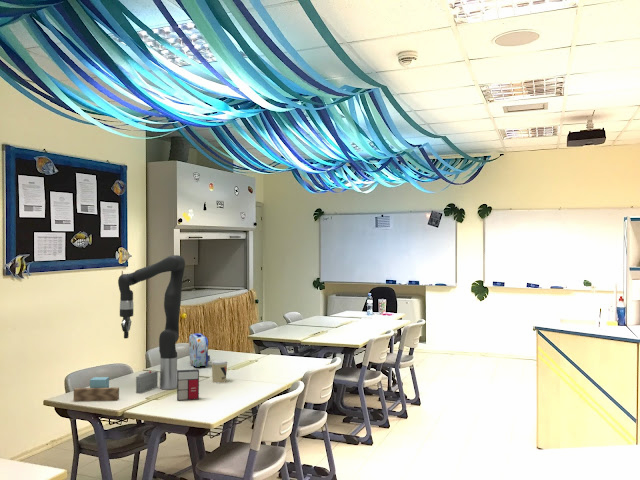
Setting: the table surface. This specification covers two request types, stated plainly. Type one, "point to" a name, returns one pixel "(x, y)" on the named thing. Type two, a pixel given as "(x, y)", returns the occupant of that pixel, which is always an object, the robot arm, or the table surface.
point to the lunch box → (198, 350)
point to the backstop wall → (96, 394)
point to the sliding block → (99, 382)
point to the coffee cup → (219, 370)
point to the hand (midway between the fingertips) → (126, 338)
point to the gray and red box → (187, 384)
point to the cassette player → (146, 381)
